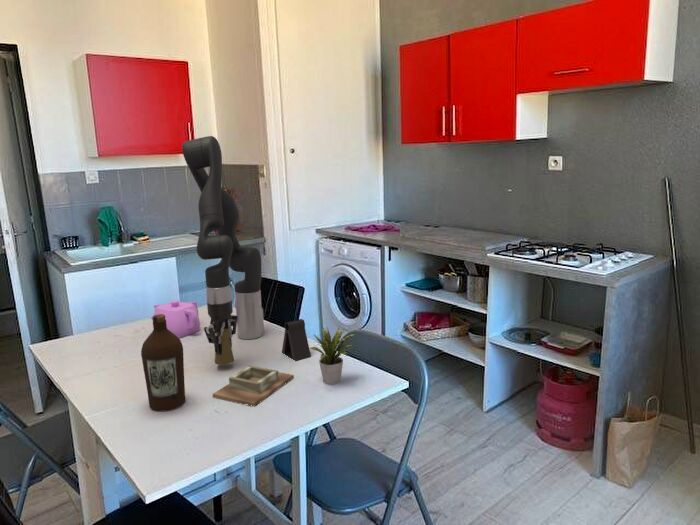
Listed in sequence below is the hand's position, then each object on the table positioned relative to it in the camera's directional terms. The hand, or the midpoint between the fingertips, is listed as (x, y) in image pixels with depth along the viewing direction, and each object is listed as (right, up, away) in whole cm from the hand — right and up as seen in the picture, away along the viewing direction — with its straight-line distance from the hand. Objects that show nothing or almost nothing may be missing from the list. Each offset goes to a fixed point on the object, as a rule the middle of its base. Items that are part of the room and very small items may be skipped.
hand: (223, 351), depth 169 cm
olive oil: (-10, -11, -23) cm, 27 cm away
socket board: (+12, -8, -14) cm, 20 cm away
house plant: (+35, -7, -12) cm, 37 cm away
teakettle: (-27, +1, +35) cm, 44 cm away
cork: (0, -3, +1) cm, 4 cm away
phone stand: (+22, -3, +10) cm, 24 cm away
